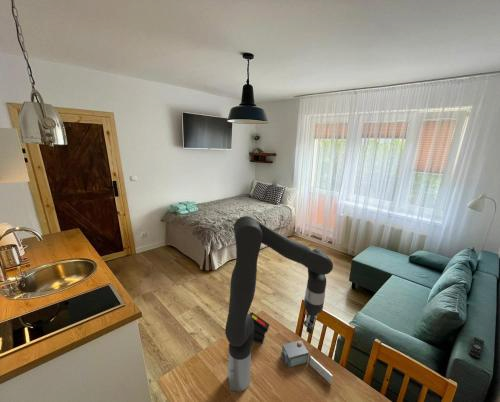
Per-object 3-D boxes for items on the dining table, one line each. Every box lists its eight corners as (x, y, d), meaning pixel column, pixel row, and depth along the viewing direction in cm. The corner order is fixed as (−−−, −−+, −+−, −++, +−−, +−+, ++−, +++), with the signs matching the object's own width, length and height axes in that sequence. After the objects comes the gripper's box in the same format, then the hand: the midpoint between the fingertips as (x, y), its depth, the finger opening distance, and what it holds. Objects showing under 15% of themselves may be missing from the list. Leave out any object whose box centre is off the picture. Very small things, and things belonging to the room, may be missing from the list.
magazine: (239, 328, 122) (251, 311, 116) (260, 343, 119) (273, 326, 114) (236, 333, 118) (249, 316, 113) (257, 349, 116) (271, 332, 110)
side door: (331, 382, 97) (333, 374, 96) (330, 384, 96) (331, 376, 95) (309, 361, 106) (310, 353, 105) (307, 363, 105) (308, 355, 104)
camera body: (285, 369, 102) (286, 357, 101) (279, 354, 109) (279, 344, 107) (307, 362, 106) (308, 351, 104) (300, 349, 112) (301, 338, 110)
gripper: (318, 311, 83) (312, 347, 87) (328, 292, 93) (322, 325, 98) (299, 302, 86) (294, 338, 91) (310, 285, 97) (306, 317, 102)
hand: (309, 331), depth 95 cm, fingers closed
